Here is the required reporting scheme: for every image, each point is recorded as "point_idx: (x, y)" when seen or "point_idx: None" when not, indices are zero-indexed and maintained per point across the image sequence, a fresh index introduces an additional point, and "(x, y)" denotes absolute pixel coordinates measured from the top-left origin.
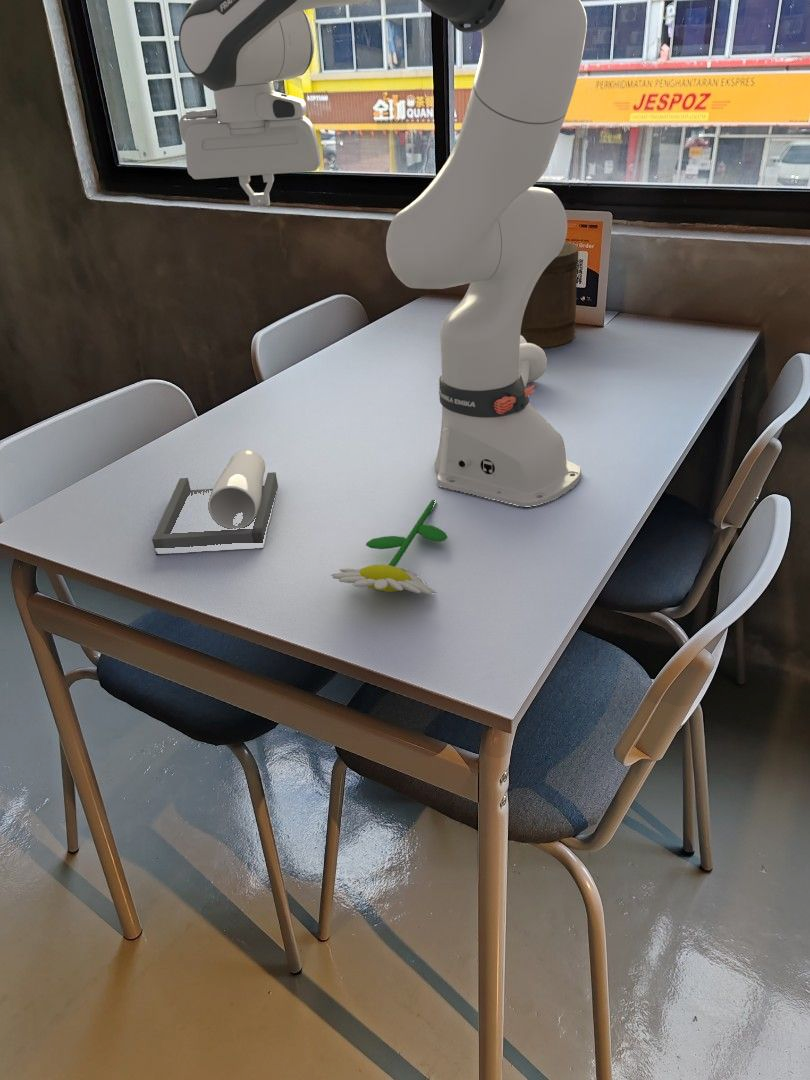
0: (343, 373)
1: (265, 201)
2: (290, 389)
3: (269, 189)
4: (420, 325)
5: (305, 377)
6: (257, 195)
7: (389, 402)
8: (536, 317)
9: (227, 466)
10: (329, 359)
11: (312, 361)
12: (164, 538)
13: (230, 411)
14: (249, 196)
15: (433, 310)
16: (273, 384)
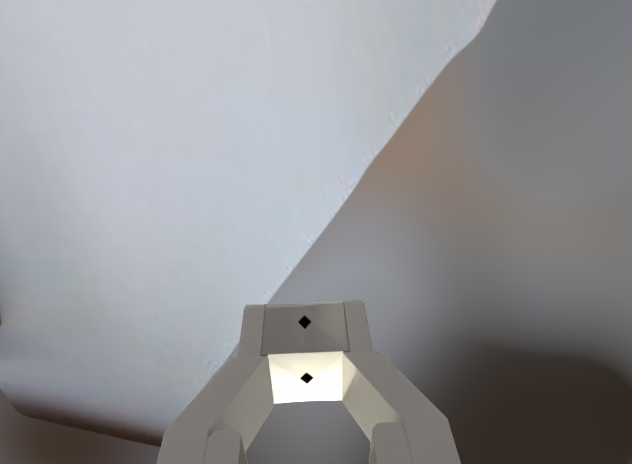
0: (232, 206)
1: (262, 319)
2: (315, 150)
3: (211, 381)
4: (149, 361)
5: (296, 197)
6: (310, 349)
7: (111, 64)
8: None
9: None
10: (267, 262)
11: (294, 258)
12: None
13: (418, 60)
14: (368, 343)
15: (144, 402)
16: (348, 175)
